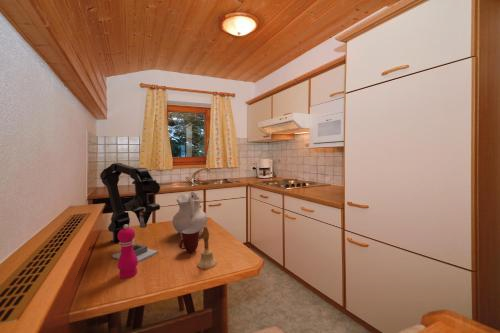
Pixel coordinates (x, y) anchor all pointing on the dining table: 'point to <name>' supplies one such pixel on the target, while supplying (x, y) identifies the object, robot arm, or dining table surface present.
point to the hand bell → (206, 253)
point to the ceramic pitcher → (189, 213)
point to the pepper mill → (127, 253)
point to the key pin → (142, 220)
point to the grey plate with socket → (139, 252)
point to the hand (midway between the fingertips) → (143, 223)
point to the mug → (190, 239)
